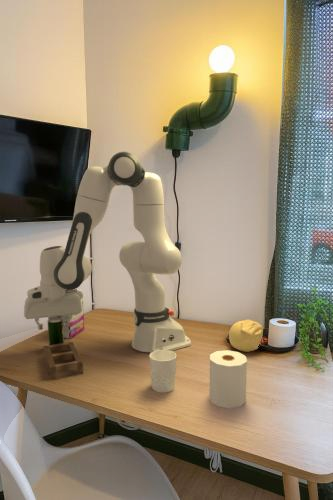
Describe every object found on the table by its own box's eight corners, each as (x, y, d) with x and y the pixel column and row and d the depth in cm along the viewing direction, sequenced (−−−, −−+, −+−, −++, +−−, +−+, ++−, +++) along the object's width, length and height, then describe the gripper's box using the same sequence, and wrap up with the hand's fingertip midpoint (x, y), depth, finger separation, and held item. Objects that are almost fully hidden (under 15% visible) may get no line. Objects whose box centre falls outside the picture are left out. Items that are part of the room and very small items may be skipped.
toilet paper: (221, 412, 101) (222, 368, 99) (202, 393, 110) (202, 353, 108) (253, 403, 105) (254, 361, 103) (232, 386, 114) (233, 347, 112)
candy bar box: (74, 328, 163) (72, 290, 160) (84, 329, 161) (83, 291, 159) (59, 337, 152) (57, 297, 150) (69, 339, 151) (68, 298, 148)
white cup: (167, 396, 108) (167, 363, 107) (144, 389, 112) (144, 357, 111) (181, 384, 115) (181, 353, 113) (159, 378, 119) (159, 347, 118)
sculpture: (253, 357, 134) (254, 328, 132) (223, 349, 141) (224, 321, 139) (266, 347, 143) (268, 319, 141) (237, 339, 150) (238, 313, 148)
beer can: (51, 352, 138) (49, 320, 136) (47, 347, 143) (45, 316, 141) (66, 349, 141) (64, 318, 139) (61, 344, 146) (59, 314, 144)
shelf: (73, 352, 138) (72, 341, 138) (83, 373, 122) (82, 361, 122) (44, 357, 135) (43, 346, 134) (50, 379, 118) (50, 367, 118)
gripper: (80, 286, 146) (80, 322, 148) (22, 291, 138) (24, 328, 139) (83, 290, 140) (84, 327, 142) (24, 295, 132) (25, 333, 134)
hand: (53, 327), depth 140 cm, fingers open, 8 cm apart
